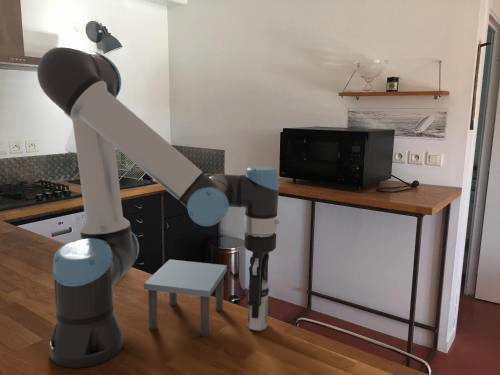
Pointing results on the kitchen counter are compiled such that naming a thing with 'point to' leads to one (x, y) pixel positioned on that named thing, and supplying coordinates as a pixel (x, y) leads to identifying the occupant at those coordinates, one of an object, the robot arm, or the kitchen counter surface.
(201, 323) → the pale blue square-topped fixture
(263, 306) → the beer can
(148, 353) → the kitchen counter surface
